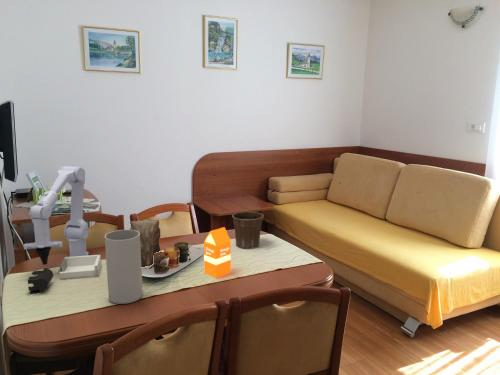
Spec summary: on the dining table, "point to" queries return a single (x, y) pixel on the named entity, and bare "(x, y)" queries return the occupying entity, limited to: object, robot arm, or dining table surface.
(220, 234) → the orange juice
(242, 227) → the plant pot
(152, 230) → the brown rough block
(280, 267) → the dining table surface
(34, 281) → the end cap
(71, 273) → the white open tray
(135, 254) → the cylinder vase
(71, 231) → the robot arm
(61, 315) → the dining table surface
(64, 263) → the side door
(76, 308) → the dining table surface
